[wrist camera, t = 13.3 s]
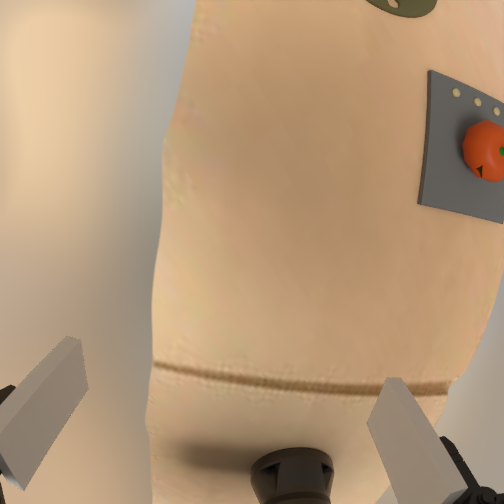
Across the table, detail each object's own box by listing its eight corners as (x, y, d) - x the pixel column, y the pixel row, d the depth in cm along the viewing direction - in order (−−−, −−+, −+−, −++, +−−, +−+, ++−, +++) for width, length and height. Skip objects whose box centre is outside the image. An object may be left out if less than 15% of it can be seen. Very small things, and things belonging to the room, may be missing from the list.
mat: (498, 223, 36) (504, 224, 35) (417, 203, 36) (422, 205, 35) (508, 108, 32) (513, 108, 31) (427, 71, 31) (432, 69, 30)
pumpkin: (454, 115, 32) (489, 109, 25) (494, 133, 32) (529, 131, 25) (450, 171, 34) (485, 174, 27) (490, 185, 34) (525, 190, 27)
